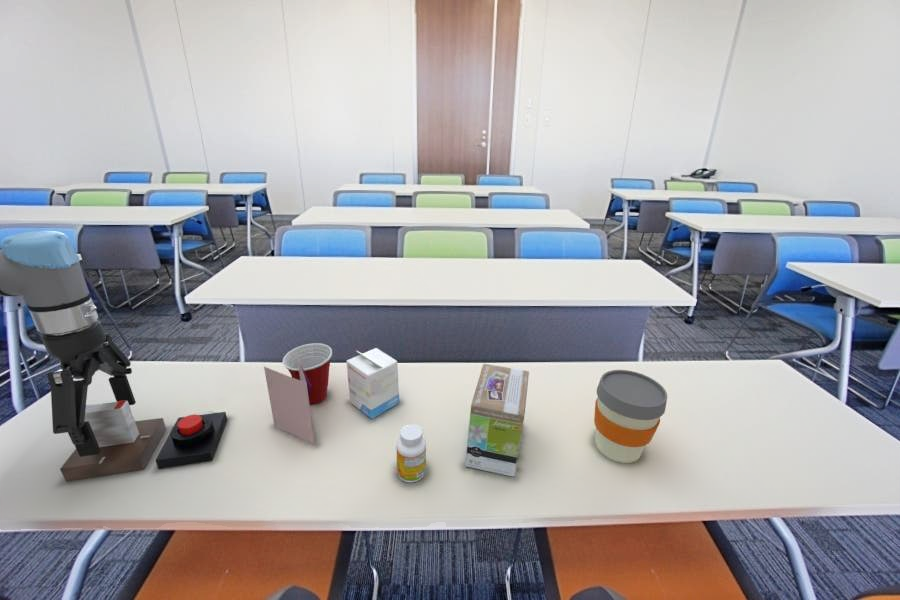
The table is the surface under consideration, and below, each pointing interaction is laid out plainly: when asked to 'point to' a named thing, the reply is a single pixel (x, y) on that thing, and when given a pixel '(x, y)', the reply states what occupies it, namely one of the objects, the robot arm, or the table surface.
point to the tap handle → (112, 423)
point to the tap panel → (117, 454)
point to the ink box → (373, 382)
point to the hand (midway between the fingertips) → (110, 427)
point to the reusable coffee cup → (627, 414)
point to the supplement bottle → (411, 454)
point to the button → (190, 424)
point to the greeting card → (290, 403)
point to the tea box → (497, 419)
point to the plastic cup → (311, 368)
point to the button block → (193, 443)
